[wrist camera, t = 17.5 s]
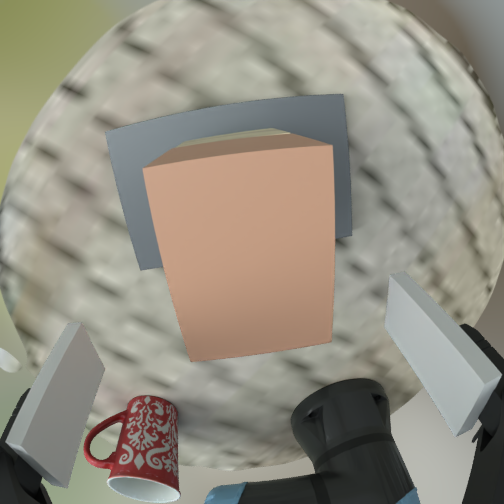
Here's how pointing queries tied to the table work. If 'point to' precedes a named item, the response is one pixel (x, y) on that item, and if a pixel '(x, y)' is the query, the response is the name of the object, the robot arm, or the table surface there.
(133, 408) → the mug
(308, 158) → the terracotta brick
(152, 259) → the baseplate
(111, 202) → the table surface
